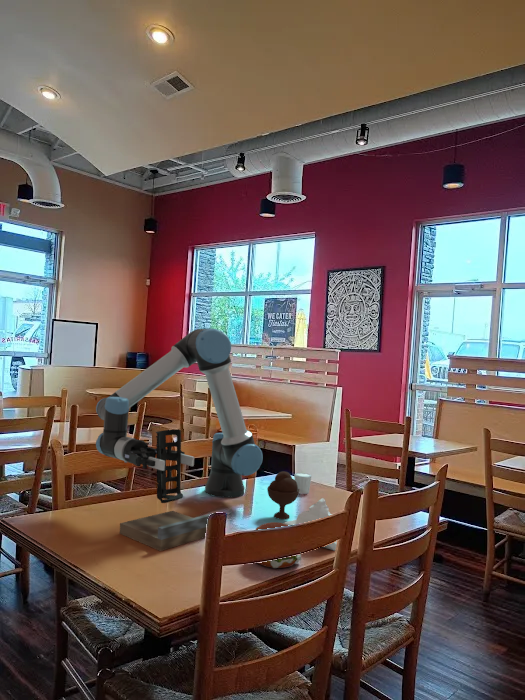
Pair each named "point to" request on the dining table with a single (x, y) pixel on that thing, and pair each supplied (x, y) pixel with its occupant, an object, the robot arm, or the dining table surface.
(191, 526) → the board
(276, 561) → the burger
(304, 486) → the white cup
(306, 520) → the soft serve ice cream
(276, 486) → the ice cream bowl
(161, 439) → the holder
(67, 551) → the dining table surface
